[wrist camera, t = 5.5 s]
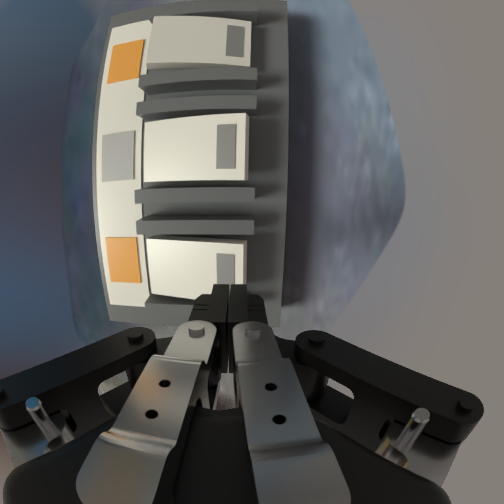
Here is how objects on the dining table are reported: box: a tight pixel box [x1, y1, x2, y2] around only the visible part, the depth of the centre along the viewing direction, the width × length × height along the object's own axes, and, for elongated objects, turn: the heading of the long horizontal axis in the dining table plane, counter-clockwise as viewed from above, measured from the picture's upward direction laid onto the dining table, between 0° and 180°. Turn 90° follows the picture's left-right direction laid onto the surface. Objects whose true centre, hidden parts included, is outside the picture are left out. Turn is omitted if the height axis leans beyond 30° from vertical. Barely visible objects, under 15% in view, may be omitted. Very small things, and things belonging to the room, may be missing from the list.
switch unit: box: [92, 0, 289, 327], centre depth 16 cm, size 24×13×5 cm, turn 179°
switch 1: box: [146, 16, 251, 69], centre depth 12 cm, size 4×6×1 cm, turn 89°
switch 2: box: [146, 235, 247, 300], centre depth 16 cm, size 4×6×1 cm, turn 89°
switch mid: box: [144, 113, 249, 182], centre depth 14 cm, size 4×6×1 cm, turn 89°
